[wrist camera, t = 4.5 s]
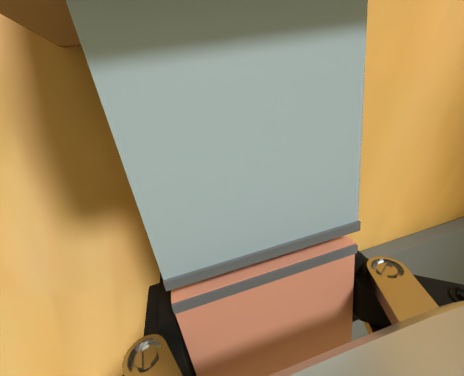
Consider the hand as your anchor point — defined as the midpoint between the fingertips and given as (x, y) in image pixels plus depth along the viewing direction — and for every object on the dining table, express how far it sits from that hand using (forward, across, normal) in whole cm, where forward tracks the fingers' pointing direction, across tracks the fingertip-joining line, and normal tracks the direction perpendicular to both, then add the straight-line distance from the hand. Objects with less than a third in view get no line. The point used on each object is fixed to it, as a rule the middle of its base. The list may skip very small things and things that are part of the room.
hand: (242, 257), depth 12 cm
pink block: (+1, 0, 0) cm, 1 cm away
